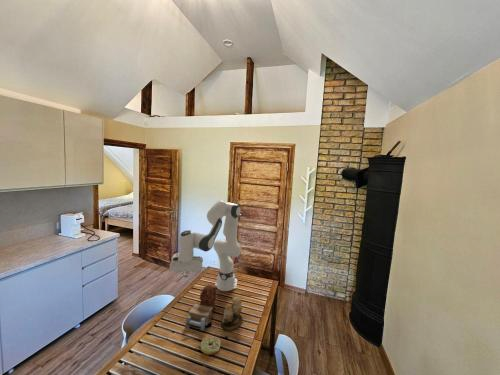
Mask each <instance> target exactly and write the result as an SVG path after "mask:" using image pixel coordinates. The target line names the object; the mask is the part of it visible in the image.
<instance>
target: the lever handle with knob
mask: <svg viewBox="0 0 500 375" xmlns="http://www.w3.org/2000/svg"><path fill="white" fill-rule="evenodd" d="M185 320H186V321H185V324H192V325H191V326H196V327H200V332H204V331H205V328H206V327H205V318H201V322H197V321H194V320H191V317H190V315H187V316H186V319H185Z"/></svg>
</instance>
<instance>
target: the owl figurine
mask: <svg viewBox="0 0 500 375" xmlns="http://www.w3.org/2000/svg"><path fill="white" fill-rule="evenodd" d="M231 302H232V304H230V303H227V304H226V305H225V308H224V313H223V318H222V320H221V323H220V327H221V329H222V330H223V331H224V332H227V333H228V332H234V331H235V330H238V329H239V328H240V326H242V324H243V321H244V317H243V316H242V315H241V314H242V313H241V312H242V309H243V304H242V300H241V297H239V296H236V297H234V296H233V298H231Z"/></svg>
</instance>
